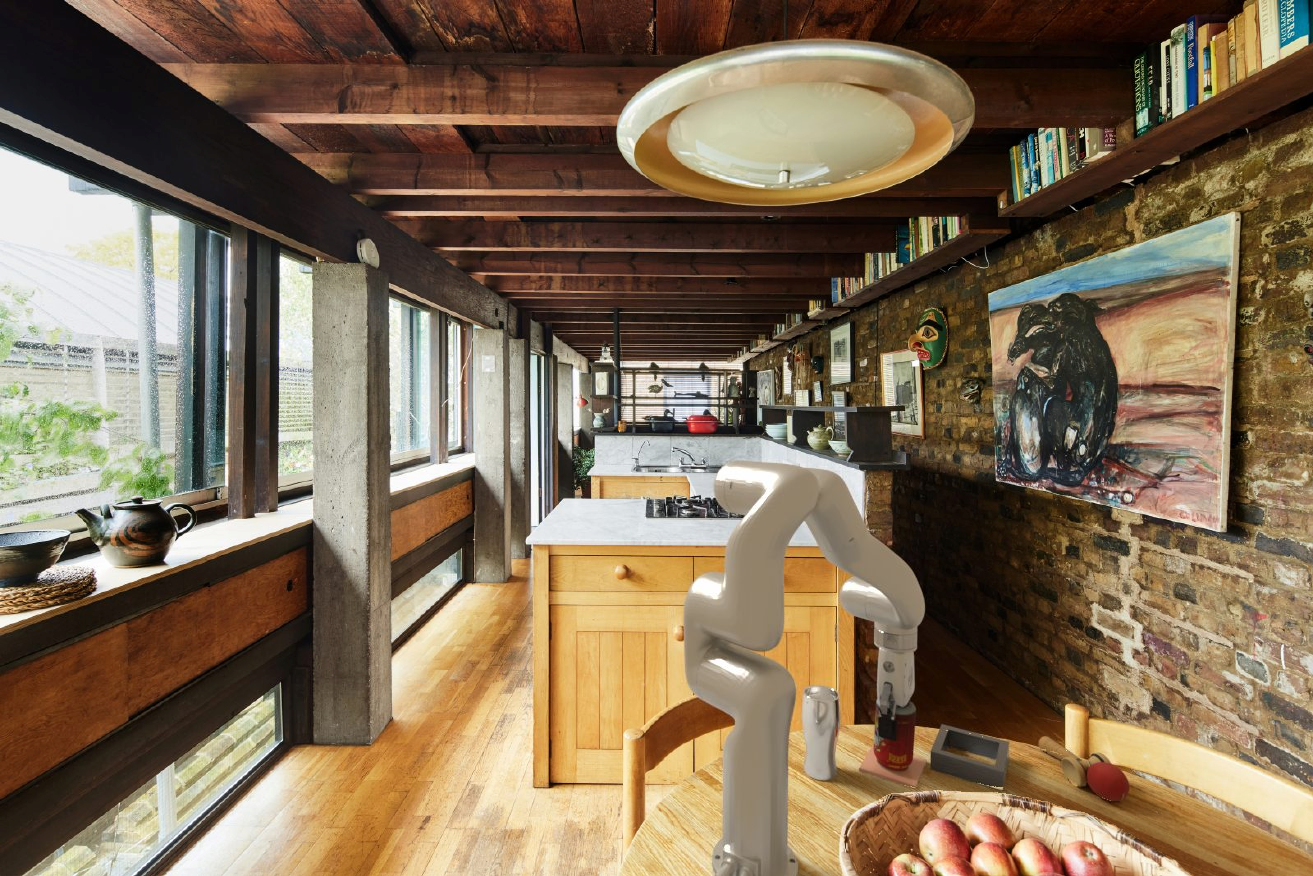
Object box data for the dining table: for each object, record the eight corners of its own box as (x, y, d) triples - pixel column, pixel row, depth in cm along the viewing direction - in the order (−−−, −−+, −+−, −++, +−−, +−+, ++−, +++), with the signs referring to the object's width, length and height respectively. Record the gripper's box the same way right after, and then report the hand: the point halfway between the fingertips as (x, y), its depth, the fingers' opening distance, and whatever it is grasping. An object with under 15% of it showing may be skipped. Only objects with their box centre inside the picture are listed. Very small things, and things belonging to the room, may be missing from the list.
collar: (1003, 791, 109) (1003, 772, 109) (930, 769, 116) (930, 751, 116) (1008, 759, 119) (1009, 741, 119) (941, 740, 126) (941, 724, 126)
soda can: (866, 752, 120) (870, 691, 119) (902, 752, 120) (906, 692, 119) (880, 774, 113) (885, 710, 112) (919, 775, 113) (923, 711, 112)
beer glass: (844, 782, 112) (845, 702, 111) (805, 782, 112) (806, 701, 111) (834, 760, 119) (835, 684, 118) (797, 760, 119) (798, 684, 118)
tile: (915, 789, 110) (915, 786, 110) (858, 771, 115) (859, 768, 115) (926, 762, 118) (926, 759, 118) (873, 746, 124) (873, 743, 124)
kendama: (1024, 759, 122) (1099, 805, 104) (1027, 726, 122) (1102, 766, 104) (1060, 764, 122) (1140, 810, 104) (1063, 731, 123) (1143, 771, 105)
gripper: (906, 657, 106) (904, 754, 107) (925, 628, 121) (924, 713, 121) (862, 648, 110) (860, 741, 111) (886, 620, 125) (884, 703, 126)
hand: (893, 727), depth 116 cm, fingers open, 9 cm apart
